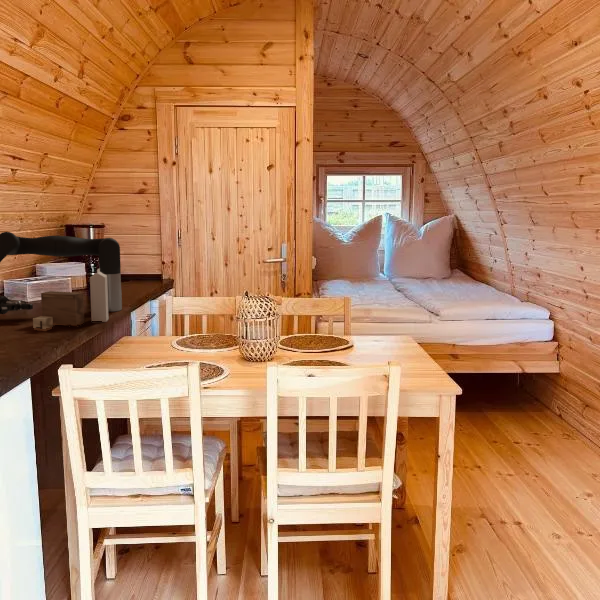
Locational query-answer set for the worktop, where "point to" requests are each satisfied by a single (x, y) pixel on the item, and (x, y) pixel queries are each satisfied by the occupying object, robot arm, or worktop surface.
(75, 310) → the walnut panel
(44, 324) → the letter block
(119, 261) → the robot arm
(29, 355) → the worktop surface
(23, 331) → the worktop surface
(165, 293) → the worktop surface
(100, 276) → the milk
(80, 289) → the worktop surface
